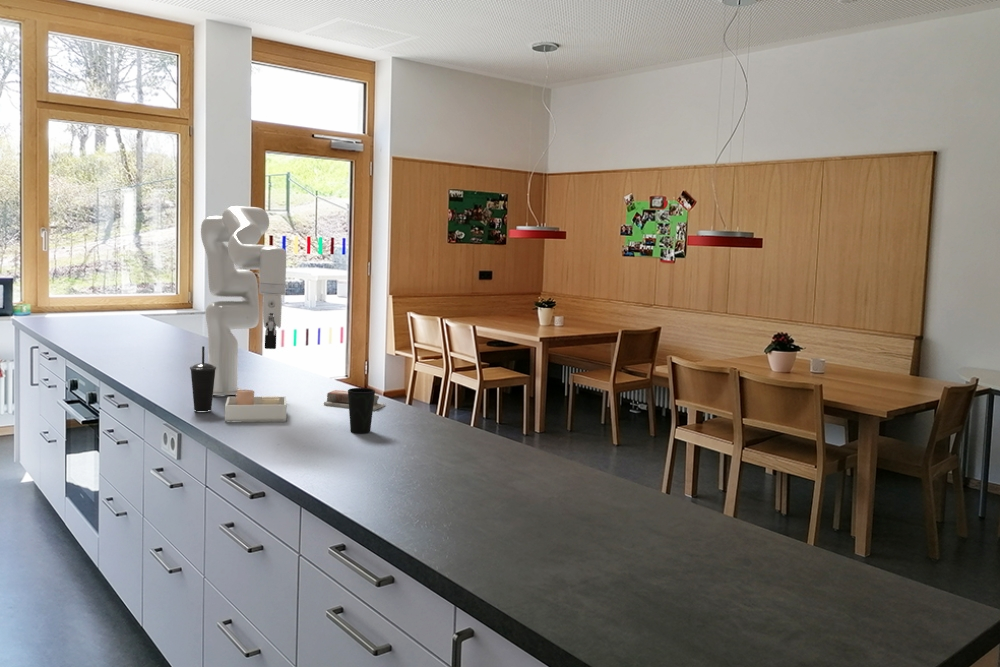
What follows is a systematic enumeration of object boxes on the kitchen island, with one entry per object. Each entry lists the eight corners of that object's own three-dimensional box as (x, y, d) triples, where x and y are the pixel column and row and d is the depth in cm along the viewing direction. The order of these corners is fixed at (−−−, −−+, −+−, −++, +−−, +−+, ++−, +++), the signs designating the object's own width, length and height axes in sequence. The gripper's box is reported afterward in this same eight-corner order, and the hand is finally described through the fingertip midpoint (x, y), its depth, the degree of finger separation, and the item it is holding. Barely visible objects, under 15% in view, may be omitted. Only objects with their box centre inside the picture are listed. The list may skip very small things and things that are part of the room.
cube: (261, 412, 248) (261, 396, 247) (278, 412, 249) (278, 396, 249) (261, 416, 243) (261, 399, 243) (279, 416, 245) (279, 399, 244)
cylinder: (248, 411, 248) (249, 389, 247) (255, 415, 244) (257, 392, 243) (232, 412, 245) (234, 389, 244) (239, 416, 241) (241, 393, 240)
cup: (368, 435, 229) (369, 393, 227) (342, 433, 230) (343, 391, 229) (377, 429, 236) (379, 389, 235) (352, 427, 238) (354, 386, 236)
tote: (227, 412, 249) (227, 396, 249) (285, 412, 254) (286, 396, 253) (224, 422, 237) (225, 405, 236) (286, 421, 241) (286, 405, 241)
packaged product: (323, 392, 267) (337, 387, 276) (322, 406, 267) (337, 401, 277) (372, 397, 261) (386, 392, 271) (372, 412, 262) (385, 407, 271)
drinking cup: (198, 414, 245) (199, 348, 243) (184, 410, 249) (184, 346, 247) (221, 411, 251) (221, 347, 249) (206, 407, 255) (207, 344, 253)
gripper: (285, 292, 235) (283, 351, 237) (285, 286, 251) (283, 341, 254) (258, 291, 233) (256, 350, 235) (259, 285, 249) (258, 341, 252)
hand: (270, 345), depth 245 cm, fingers open, 9 cm apart
